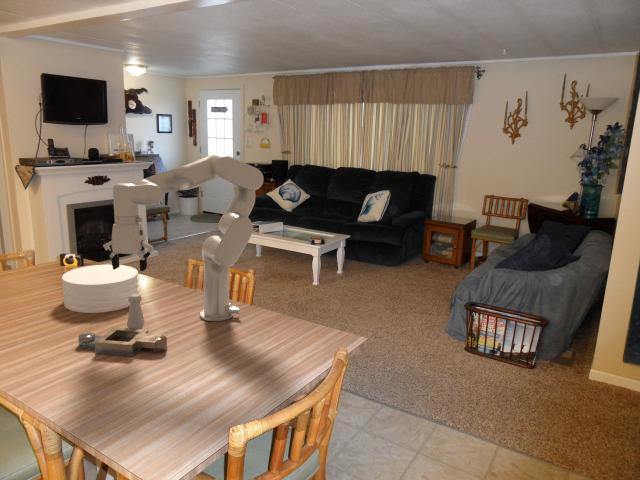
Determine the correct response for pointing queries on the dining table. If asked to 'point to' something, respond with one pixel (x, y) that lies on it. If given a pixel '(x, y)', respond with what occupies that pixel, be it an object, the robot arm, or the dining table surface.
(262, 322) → the dining table surface
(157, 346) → the upper end link
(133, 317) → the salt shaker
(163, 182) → the robot arm
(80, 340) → the lower end link
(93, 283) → the plate stack
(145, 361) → the dining table surface
